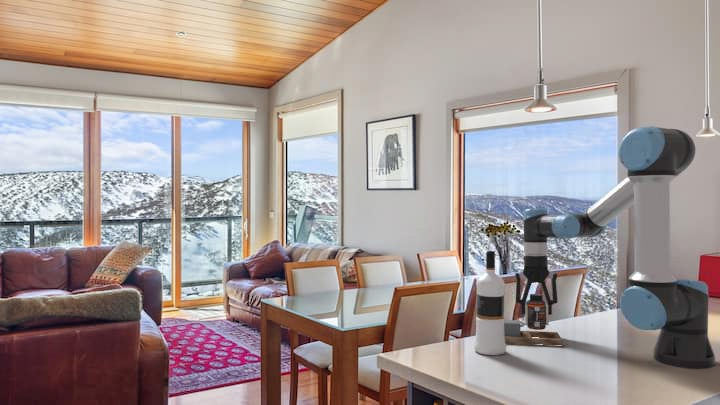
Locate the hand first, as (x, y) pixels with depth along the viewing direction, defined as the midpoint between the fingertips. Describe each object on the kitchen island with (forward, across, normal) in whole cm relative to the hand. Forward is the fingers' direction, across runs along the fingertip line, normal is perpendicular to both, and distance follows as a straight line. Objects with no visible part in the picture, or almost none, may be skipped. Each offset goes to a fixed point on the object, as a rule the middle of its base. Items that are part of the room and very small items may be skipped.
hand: (536, 324), depth 193 cm
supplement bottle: (+2, 0, 0) cm, 2 cm away
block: (+4, +9, +9) cm, 13 cm away
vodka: (+4, +16, +25) cm, 30 cm away
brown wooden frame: (+4, +4, +9) cm, 10 cm away
